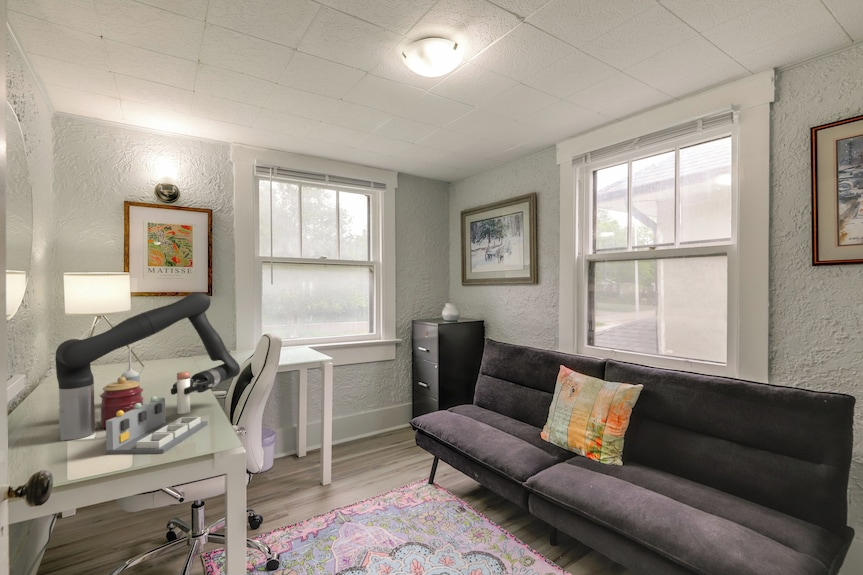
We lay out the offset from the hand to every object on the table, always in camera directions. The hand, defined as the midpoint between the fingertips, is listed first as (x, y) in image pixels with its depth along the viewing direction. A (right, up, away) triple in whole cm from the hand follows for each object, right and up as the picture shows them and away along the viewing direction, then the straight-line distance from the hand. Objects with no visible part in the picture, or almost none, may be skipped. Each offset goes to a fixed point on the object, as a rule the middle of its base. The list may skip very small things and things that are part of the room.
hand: (178, 391), depth 144 cm
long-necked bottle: (-43, -14, +36) cm, 57 cm away
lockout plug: (0, -8, +3) cm, 8 cm away
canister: (-27, -15, +10) cm, 33 cm away
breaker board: (-3, -14, -5) cm, 16 cm away
